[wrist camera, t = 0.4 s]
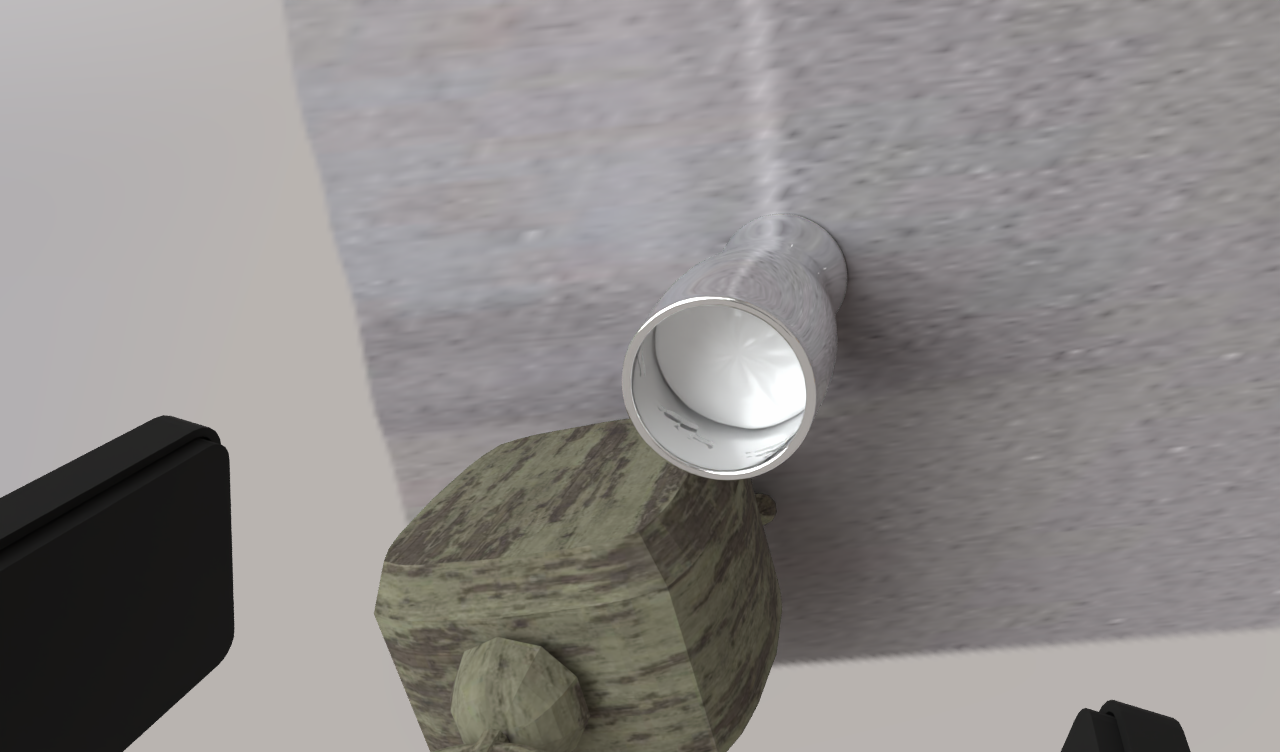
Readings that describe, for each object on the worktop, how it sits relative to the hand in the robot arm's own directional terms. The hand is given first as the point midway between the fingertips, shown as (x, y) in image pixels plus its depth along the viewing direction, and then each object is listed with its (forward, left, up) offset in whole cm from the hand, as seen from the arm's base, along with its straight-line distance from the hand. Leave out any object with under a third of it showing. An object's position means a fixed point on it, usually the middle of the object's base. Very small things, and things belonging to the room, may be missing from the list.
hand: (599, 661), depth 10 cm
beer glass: (+3, -5, -36) cm, 36 cm away
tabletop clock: (+9, -16, -36) cm, 40 cm away
